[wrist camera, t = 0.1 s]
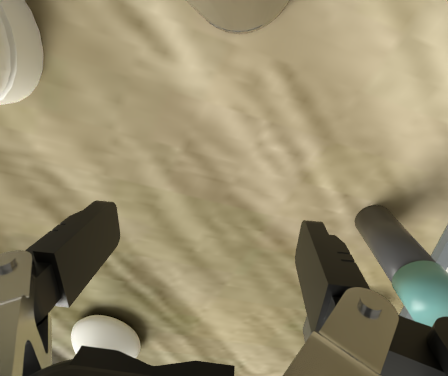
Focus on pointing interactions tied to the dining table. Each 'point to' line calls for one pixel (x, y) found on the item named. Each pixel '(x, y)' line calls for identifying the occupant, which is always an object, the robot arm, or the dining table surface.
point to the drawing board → (443, 255)
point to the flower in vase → (105, 335)
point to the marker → (405, 265)
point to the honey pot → (18, 51)
